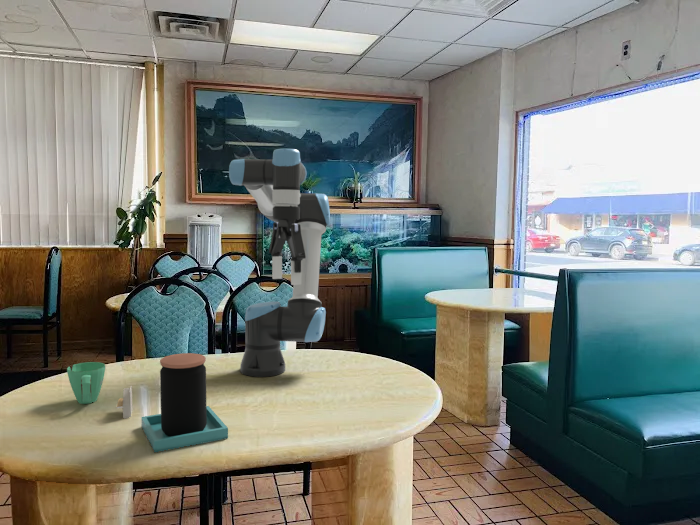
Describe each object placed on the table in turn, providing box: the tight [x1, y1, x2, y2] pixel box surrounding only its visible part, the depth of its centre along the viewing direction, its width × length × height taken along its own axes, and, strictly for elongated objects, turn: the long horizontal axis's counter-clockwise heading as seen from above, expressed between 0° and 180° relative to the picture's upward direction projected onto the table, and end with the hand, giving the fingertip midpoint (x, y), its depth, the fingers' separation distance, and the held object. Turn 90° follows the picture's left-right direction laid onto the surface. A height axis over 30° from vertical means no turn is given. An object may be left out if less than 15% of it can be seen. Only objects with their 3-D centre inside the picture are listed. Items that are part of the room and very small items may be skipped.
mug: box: [66, 361, 106, 405], centre depth 157 cm, size 15×10×10 cm
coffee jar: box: [159, 352, 207, 437], centre depth 137 cm, size 11×11×18 cm
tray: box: [140, 405, 229, 453], centre depth 138 cm, size 17×17×3 cm
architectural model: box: [116, 385, 133, 419], centre depth 150 cm, size 3×7×7 cm, turn 17°
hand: (286, 281), depth 158 cm, fingers open, 13 cm apart
